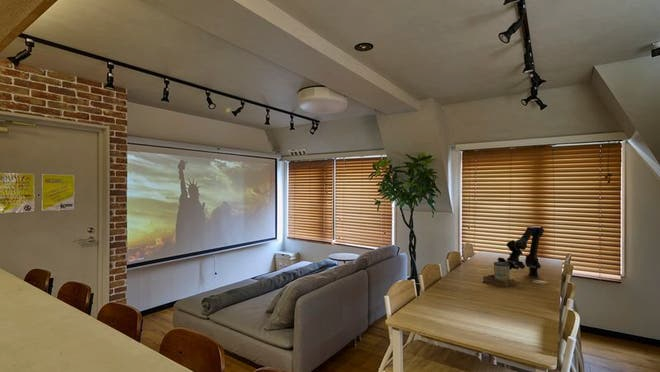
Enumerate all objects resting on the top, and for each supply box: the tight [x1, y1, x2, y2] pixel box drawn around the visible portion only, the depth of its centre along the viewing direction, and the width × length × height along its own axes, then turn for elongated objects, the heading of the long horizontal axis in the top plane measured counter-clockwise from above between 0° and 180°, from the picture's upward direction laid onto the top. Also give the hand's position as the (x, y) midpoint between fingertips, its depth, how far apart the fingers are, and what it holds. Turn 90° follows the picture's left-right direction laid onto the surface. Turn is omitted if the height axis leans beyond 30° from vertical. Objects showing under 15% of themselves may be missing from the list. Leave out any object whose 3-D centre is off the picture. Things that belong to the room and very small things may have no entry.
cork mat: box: [531, 279, 549, 286], centre depth 234 cm, size 10×10×1 cm
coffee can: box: [493, 261, 511, 281], centre depth 237 cm, size 10×10×14 cm
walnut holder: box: [482, 273, 515, 288], centre depth 235 cm, size 11×16×4 cm
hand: (506, 271), depth 239 cm, fingers closed, pressing on coffee can
